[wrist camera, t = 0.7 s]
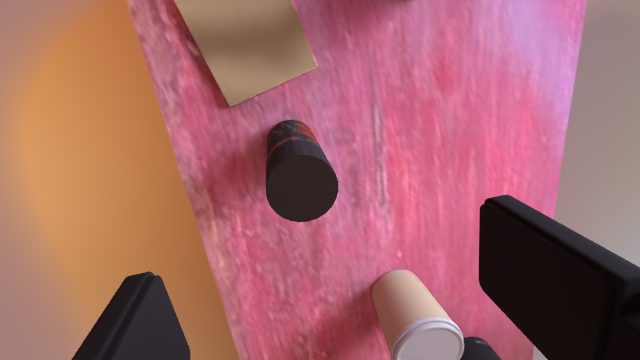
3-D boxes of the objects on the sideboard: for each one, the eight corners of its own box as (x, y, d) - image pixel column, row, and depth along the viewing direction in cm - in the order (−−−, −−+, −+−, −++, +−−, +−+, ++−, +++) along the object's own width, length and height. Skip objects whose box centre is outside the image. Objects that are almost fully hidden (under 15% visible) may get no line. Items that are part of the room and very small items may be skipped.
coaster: (173, -3, 34) (170, -4, 33) (271, -48, 34) (271, -51, 33) (230, 106, 38) (229, 107, 37) (317, 67, 38) (318, 67, 37)
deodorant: (258, 133, 40) (252, 174, 26) (302, 111, 40) (320, 142, 26) (280, 174, 42) (286, 233, 28) (322, 154, 42) (349, 203, 28)
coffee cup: (366, 317, 53) (392, 388, 42) (366, 268, 49) (394, 331, 38) (422, 309, 54) (462, 375, 43) (426, 260, 50) (470, 319, 39)
